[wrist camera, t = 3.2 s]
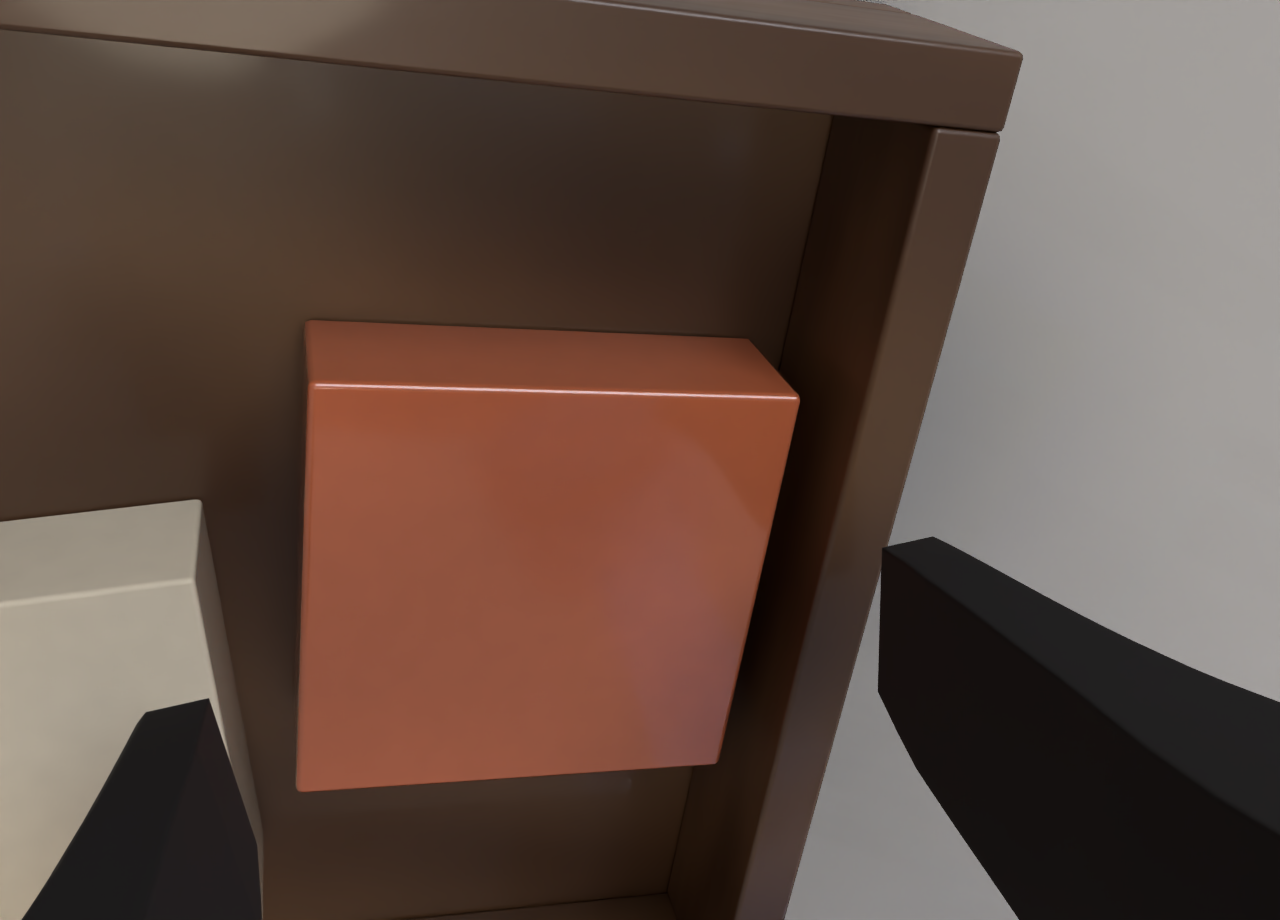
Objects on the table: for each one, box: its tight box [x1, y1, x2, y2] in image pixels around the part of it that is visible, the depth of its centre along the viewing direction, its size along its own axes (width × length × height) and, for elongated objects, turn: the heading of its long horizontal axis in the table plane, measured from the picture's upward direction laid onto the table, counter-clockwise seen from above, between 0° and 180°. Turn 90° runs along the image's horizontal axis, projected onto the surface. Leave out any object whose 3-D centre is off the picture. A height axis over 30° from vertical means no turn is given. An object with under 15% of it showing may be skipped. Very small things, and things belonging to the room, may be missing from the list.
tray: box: [0, 0, 1023, 920], centre depth 15 cm, size 15×15×3 cm
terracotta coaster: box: [293, 320, 800, 793], centre depth 15 cm, size 6×6×2 cm
